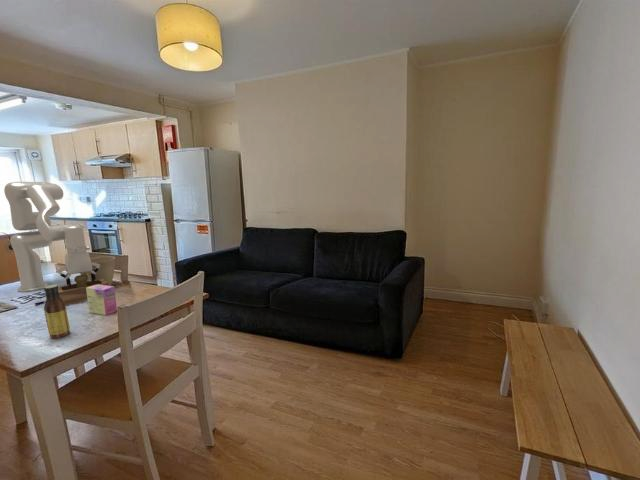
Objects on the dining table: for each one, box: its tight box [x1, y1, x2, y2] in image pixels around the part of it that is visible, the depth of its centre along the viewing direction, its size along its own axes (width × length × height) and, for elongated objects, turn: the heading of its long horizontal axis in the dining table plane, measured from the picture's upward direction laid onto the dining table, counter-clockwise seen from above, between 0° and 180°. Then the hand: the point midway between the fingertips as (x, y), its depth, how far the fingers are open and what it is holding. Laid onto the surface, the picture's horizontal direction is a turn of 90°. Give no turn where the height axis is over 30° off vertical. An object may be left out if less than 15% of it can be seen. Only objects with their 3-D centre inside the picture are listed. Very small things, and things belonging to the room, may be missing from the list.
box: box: [86, 284, 118, 316], centre depth 142 cm, size 10×6×12 cm, turn 71°
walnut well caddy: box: [58, 279, 108, 307], centre depth 160 cm, size 12×20×7 cm, turn 135°
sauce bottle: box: [43, 284, 71, 339], centre depth 119 cm, size 7×6×20 cm
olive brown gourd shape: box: [74, 274, 88, 288], centre depth 160 cm, size 6×6×11 cm
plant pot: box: [86, 255, 116, 286], centre depth 178 cm, size 15×15×16 cm
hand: (81, 283), depth 159 cm, fingers open, 9 cm apart
